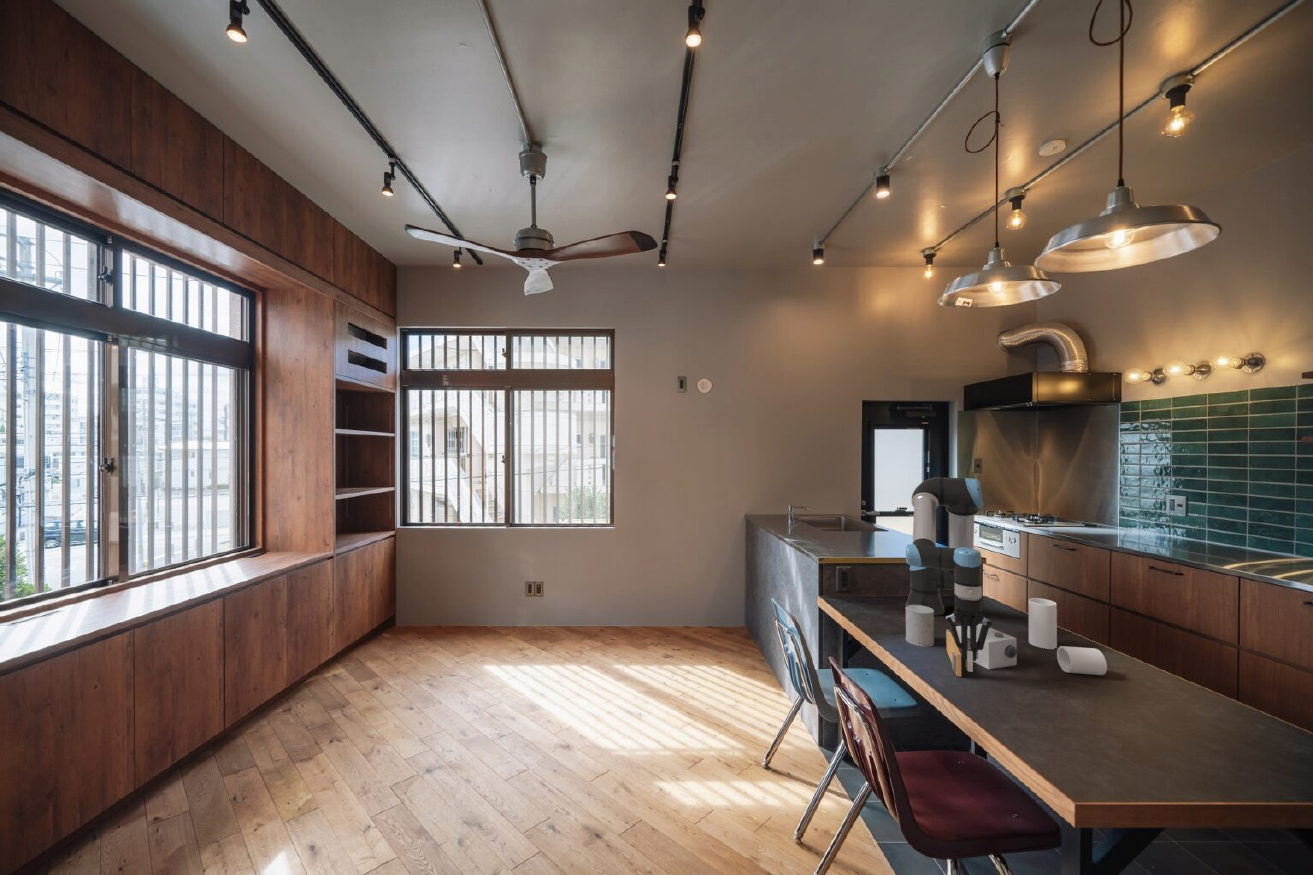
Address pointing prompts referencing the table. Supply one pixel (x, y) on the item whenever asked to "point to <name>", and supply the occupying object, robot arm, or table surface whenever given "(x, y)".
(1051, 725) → the table surface
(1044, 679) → the table surface
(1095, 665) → the mug
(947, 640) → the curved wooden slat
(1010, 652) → the knobbed white cabinet
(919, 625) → the grey mottled cylinder
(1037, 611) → the cup
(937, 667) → the table surface
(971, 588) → the robot arm
